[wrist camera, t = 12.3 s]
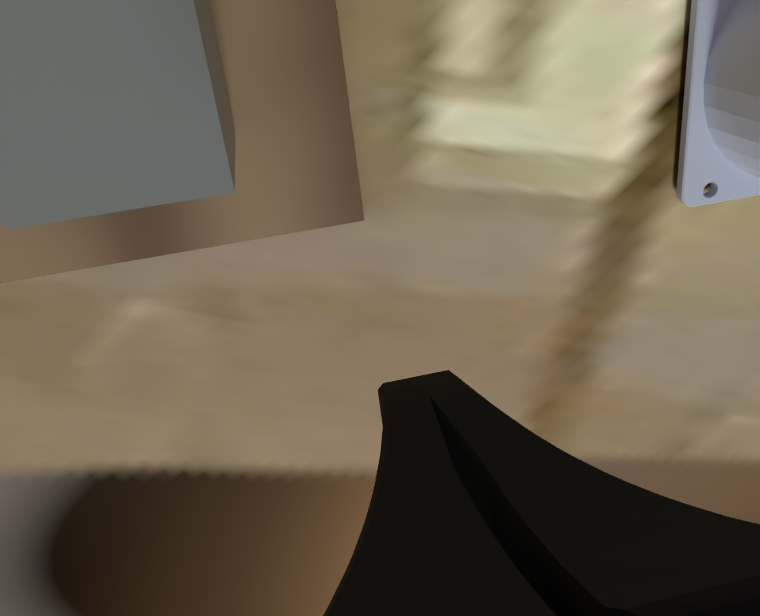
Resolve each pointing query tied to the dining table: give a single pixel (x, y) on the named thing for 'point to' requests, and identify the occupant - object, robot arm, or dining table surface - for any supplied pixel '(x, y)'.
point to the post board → (236, 152)
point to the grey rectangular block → (110, 108)
